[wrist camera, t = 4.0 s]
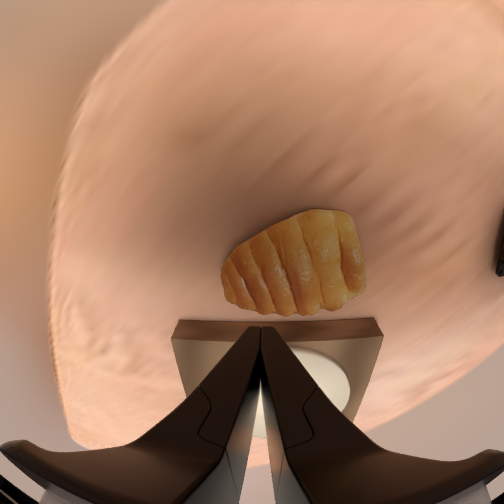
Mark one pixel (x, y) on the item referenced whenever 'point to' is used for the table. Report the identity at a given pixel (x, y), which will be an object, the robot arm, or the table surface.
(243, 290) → the pastry
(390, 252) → the table surface
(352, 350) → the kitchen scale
